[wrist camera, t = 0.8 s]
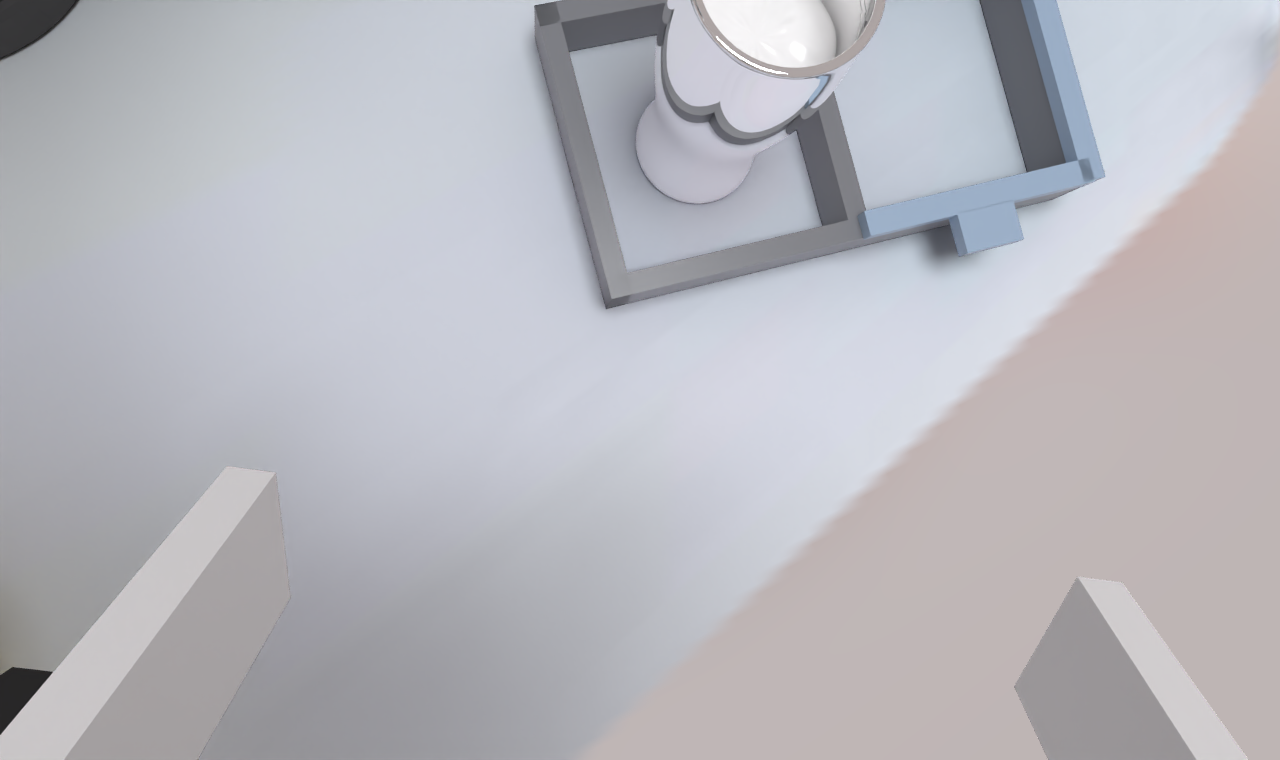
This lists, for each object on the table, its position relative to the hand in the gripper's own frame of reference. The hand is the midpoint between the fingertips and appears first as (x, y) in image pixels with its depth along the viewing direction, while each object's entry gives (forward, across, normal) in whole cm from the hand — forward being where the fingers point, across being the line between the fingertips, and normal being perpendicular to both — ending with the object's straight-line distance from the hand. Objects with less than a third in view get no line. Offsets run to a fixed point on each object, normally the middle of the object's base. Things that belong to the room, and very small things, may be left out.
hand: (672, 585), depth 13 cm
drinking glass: (+30, +1, 0) cm, 31 cm away
